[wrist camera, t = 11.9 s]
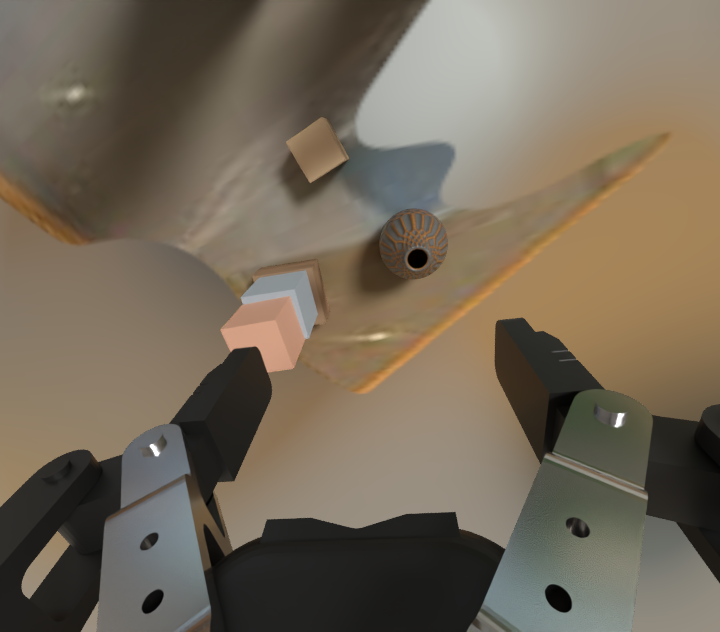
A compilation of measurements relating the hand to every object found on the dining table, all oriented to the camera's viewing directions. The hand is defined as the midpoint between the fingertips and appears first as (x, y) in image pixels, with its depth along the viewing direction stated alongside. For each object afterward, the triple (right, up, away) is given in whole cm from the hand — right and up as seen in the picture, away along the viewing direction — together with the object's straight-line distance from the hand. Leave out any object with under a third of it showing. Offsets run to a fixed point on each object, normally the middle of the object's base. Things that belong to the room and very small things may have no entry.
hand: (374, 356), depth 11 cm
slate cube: (-9, +4, +27) cm, 28 cm away
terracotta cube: (-9, +1, +22) cm, 24 cm away
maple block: (-4, +18, +23) cm, 29 cm away
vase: (+5, +10, +26) cm, 29 cm away
